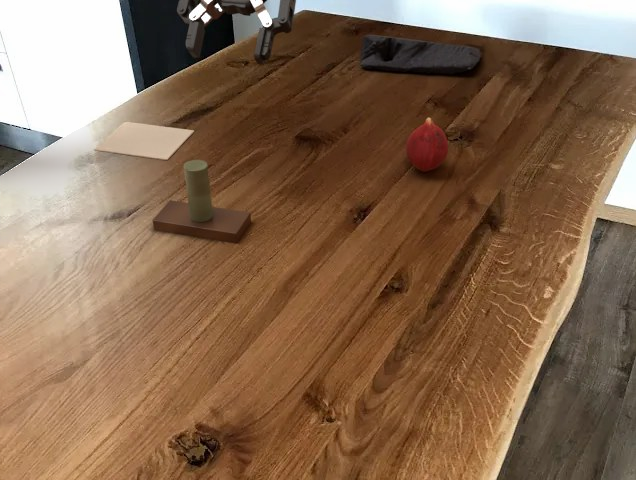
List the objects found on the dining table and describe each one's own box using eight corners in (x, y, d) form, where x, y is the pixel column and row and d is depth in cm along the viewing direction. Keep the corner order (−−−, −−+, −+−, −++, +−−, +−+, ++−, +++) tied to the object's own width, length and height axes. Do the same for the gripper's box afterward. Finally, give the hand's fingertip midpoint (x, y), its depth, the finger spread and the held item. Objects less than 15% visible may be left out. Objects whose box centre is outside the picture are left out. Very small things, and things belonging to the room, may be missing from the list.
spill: (94, 150, 110) (93, 149, 110) (125, 122, 117) (125, 121, 117) (167, 160, 107) (167, 159, 107) (194, 131, 115) (194, 130, 115)
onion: (453, 174, 104) (460, 121, 99) (422, 185, 102) (428, 131, 96) (426, 158, 108) (432, 106, 103) (396, 168, 105) (400, 116, 100)
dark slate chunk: (472, 83, 129) (475, 57, 126) (352, 69, 134) (353, 43, 131) (484, 54, 140) (488, 28, 137) (373, 42, 146) (374, 17, 143)
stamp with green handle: (155, 239, 91) (143, 168, 85) (172, 218, 95) (161, 149, 89) (237, 252, 89) (231, 181, 83) (251, 231, 93) (246, 161, 86)
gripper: (187, -90, 88) (159, 38, 87) (300, -84, 85) (273, 49, 84) (209, -53, 95) (183, 66, 94) (313, -46, 92) (289, 77, 91)
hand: (226, 58), depth 89 cm, fingers open, 8 cm apart
